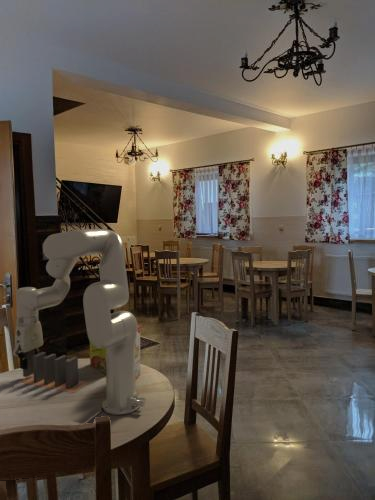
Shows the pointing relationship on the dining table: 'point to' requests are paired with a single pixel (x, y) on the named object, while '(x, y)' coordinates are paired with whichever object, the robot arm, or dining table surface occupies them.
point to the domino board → (52, 384)
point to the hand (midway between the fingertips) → (29, 365)
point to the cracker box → (137, 354)
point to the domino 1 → (29, 363)
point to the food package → (98, 358)
